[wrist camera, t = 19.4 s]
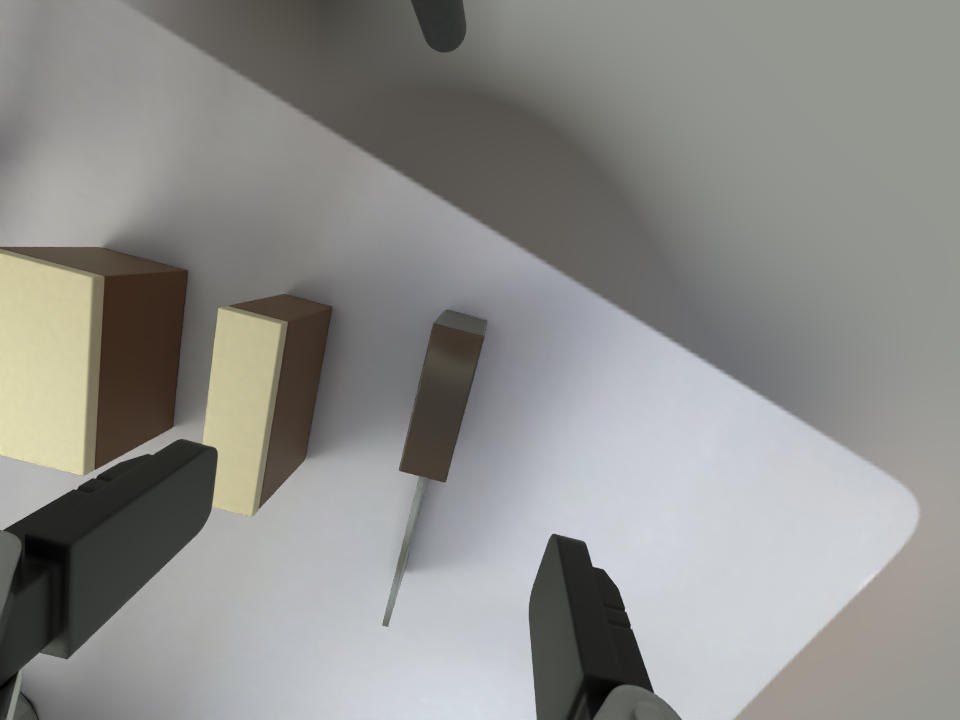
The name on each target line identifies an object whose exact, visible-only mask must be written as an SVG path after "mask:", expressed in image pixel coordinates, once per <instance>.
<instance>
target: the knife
mask: <svg viewBox="0 0 960 720" xmlns="http://www.w3.org/2000/svg"><path fill="white" fill-rule="evenodd" d="M486 325H487V320H484V319H480V318H476V317H473V316H469V315H465V314H461V313H458V312H454V311H450V310H446V311H445V312H444V313H443V314H442V315H441V316H440V317H439V318H438V319H437V321H436V322H435V323H434V324H433V327H432V331H431V336H430V340H429V344H428V348H427V353H426V357H425V361H424V365H423V370H422V374H421V378H420V382H419V386H418V391H417V395H416V399H415V403H414V408H413V412H412V416H411V420H410V425H409V429H408V433H407V437H406V442H405V446H404V450H403V454H402V459H401V463H400V467H399V471H402V472H406V473H410V474H414V475H417V476H419V480H418V484H417V488H416V492H415V496H414V500H413V504H412V508H411V512H410V516H409V520H408V524H407V528H406V532H405V536H404V540H403V544H402V548H401V552H400V556H399V560H398V564H397V568H396V572H395V576H394V580H393V584H392V588H391V592H390V596H389V600H388V604H387V608H386V612H385V616H384V620H383V624H382V625H383V626H386V627H388V625H389V621H390V618H391V615H392V611H393V608H394V605H395V601H396V598H397V595H398V591H399V588H400V585H401V581H402V578H403V574H404V571H405V567H406V563H407V559H408V555H409V551H410V547H411V543H412V539H413V535H414V532H415V528H416V524H417V520H418V516H419V512H420V508H421V504H422V500H423V496H424V492H425V488H426V484H427V480H428V478H429V479H433V480H437V481H441V482H446V479H447V476H448V472H449V468H450V464H451V461H452V457H453V453H454V449H455V445H456V442H457V438H458V434H459V430H460V427H461V423H462V419H463V415H464V412H465V408H466V404H467V400H468V397H469V393H470V389H471V385H472V382H473V378H474V374H475V370H476V367H477V363H478V359H479V355H480V352H481V348H482V344H483V340H484V336H485V330H486Z"/></svg>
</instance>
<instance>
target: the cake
mask: <svg viewBox="0 0 960 720" xmlns="http://www.w3.org/2000/svg"><path fill="white" fill-rule="evenodd" d="M186 280H187V270H184V269H180V268H176V267H173V266H169V265H165V264H161V263H158V262H154V261H150V260H146V259H142V258H139V257H135V256H131V255H127V254H123V253H120V252H116V251H112V250H108V249H105V248H101V247H0V455H3V456H7V457H10V458H14V459H18V460H22V461H26V462H30V463H34V464H38V465H42V466H46V467H50V468H54V469H58V470H62V471H66V472H69V473H73V474H77V475H81V476H84V475H86V474H88V473H90V472H92V471H94V470H96V469H98V468H100V467H101V466H103V465H105V464H107V463H109V462H111V461H112V460H114V459H116V458H118V457H120V456H122V455H123V454H125V453H127V452H129V451H131V450H133V449H134V448H136V447H138V446H140V445H142V444H144V443H145V442H147V441H149V440H151V439H153V438H155V437H156V436H158V435H160V434H162V433H164V432H166V431H167V430H169V429H171V428H172V424H173V414H174V403H175V393H176V383H177V372H178V362H179V352H180V342H181V331H182V321H183V311H184V301H185V290H186Z"/></svg>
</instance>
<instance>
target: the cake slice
mask: <svg viewBox="0 0 960 720" xmlns="http://www.w3.org/2000/svg"><path fill="white" fill-rule="evenodd" d="M331 311H332V307H331V306H327V305H323V304H320V303H316V302H312V301H308V300H305V299H301V298H297V297H293V296H290V295H286V294H283V295H278V296H273V297H268V298H264V299H259V300H254V301H249V302H244V303H240V304H235V305H230V306H224V307H219V308H218V316H217V324H216V333H215V341H214V350H213V358H212V367H211V375H210V384H209V392H208V401H207V409H206V418H205V426H204V435H203V444H204V445H208V446H212V447H215V448H216V449H217V452H218V462H217V470H216V479H215V487H214V496H213V504H212V507H215V508H218V509H222V510H226V511H230V512H234V513H238V514H242V515H246V516H250V517H253V515H254V514H255V513H256V512H257V511H258V510H259V509H260V508H261V506H262V505H263V504H264V503H265V502H266V501H267V500H268V499H269V498H270V497H271V496H272V495H273V494H274V493H275V491H276V490H277V489H278V488H279V487H280V486H281V485H282V484H283V483H284V482H285V481H286V480H287V479H288V477H289V476H290V475H291V474H292V473H293V472H294V471H295V470H296V469H297V468H298V467H299V466H300V465H301V463H302V462H303V461H304V460H305V455H306V450H307V444H308V438H309V433H310V427H311V422H312V416H313V411H314V405H315V399H316V394H317V388H318V383H319V377H320V372H321V366H322V361H323V355H324V349H325V344H326V338H327V333H328V327H329V322H330V316H331Z"/></svg>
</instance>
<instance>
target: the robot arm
mask: <svg viewBox="0 0 960 720" xmlns="http://www.w3.org/2000/svg"><path fill="white" fill-rule="evenodd" d="M217 462H218V452H217V449H216V448H215V447H212V446H208V445H204V444H200V443H196V442H192V441H188V440H184V439H180V440H177V441H175V442H173V443H172V444H170V445H169V446H167V447H165V448H164V449H162V450H160V451H159V452H157V453H155V454H154V455H150V454H146V455H143V456H140V457H137V458H133V459H130V460H127V461H124V462H120V463H118V464H117V465H115V466H113V467H111V468H110V469H108V470H106V471H105V472H103V473H101V474H99V475H98V476H97V478H96V479H94V478H92V479H91V480H89V481H87V482H86V483H84V484H82V485H80V486H79V487H78V489H77V490H74V489H73V490H72V491H70V492H68V493H66V494H65V495H63V496H61V497H60V498H58V499H56V500H54V501H53V502H51V503H49V504H47V505H46V506H44V507H42V508H41V509H39V510H37V511H35V512H34V513H32V514H30V515H28V516H27V517H25V518H23V519H22V520H20V521H18V522H16V523H15V524H13V525H11V526H9V527H8V528H6V529H4V530H3V531H2V530H0V720H13V716H14V711H15V707H16V703H17V699H18V695H19V691H20V686H21V682H22V667H23V666H25V665H26V664H27V663H28V662H29V661H30V660H31V659H32V658H34V657H35V656H36V655H37V654H38V653H43V654H47V655H52V656H56V657H60V658H64V659H68V658H69V657H70V656H71V655H72V654H73V653H74V652H75V651H76V650H78V649H79V648H80V647H81V646H82V645H83V644H84V643H85V642H86V641H87V640H88V639H89V638H90V637H91V636H92V635H93V634H94V633H95V632H96V631H97V630H98V629H99V628H100V627H101V626H102V625H103V624H105V623H106V622H107V621H108V620H109V619H110V618H111V617H112V616H113V615H114V614H115V613H116V612H117V611H118V610H119V609H120V608H121V607H122V606H123V605H124V604H125V603H126V602H127V601H128V600H129V599H130V598H132V597H133V596H134V595H135V594H136V593H137V592H138V591H139V590H140V589H141V588H142V587H143V586H144V585H145V584H146V583H147V582H148V581H149V580H150V579H151V578H152V577H153V576H154V575H155V574H156V573H157V572H159V571H160V570H161V569H162V568H163V567H164V566H165V565H166V564H167V563H168V562H169V561H170V560H171V559H172V558H173V557H174V556H175V555H176V554H177V553H178V552H179V551H180V550H181V549H182V548H183V547H184V546H185V545H187V544H188V543H189V542H190V541H191V540H192V539H193V538H194V537H195V536H196V535H197V534H198V533H199V532H200V530H201V529H202V528H203V526H204V525H205V523H206V521H207V519H208V517H209V515H210V512H211V509H212V504H213V496H214V487H215V479H216V470H217ZM529 625H530V638H531V650H532V663H533V676H534V688H535V701H536V714H537V720H682V719H681V718H680V717H679V716H678V714H677V713H676V712H675V711H674V710H673V709H672V708H671V707H670V705H668V704H667V703H666V702H665V701H664V700H663V699H661V698H660V697H658V696H657V695H656V694H654V691H653V688H652V685H651V683H650V680H649V677H648V674H647V671H646V668H645V665H644V662H643V659H642V656H641V653H640V651H639V648H638V645H637V642H636V639H635V636H634V633H633V630H632V629H630V626H631V624H630V621H629V619H628V616H627V613H626V612H625V607H624V604H623V601H622V598H621V595H620V592H619V589H618V588H617V586H616V585H615V584H614V582H613V581H612V580H611V578H610V577H609V576H608V575H607V573H606V572H605V571H604V570H603V569H599V568H595V567H593V566H592V563H591V560H590V556H589V553H588V549H587V546H586V543H585V542H584V541H581V540H577V539H573V538H569V537H565V536H561V535H557V534H552V535H551V537H550V539H549V541H548V544H547V547H546V550H545V553H544V555H543V558H542V561H541V564H540V567H539V570H538V573H537V576H536V579H535V581H534V584H533V588H532V591H531V596H530V603H529Z"/></svg>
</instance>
